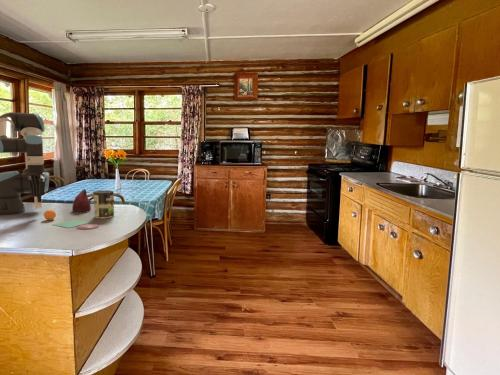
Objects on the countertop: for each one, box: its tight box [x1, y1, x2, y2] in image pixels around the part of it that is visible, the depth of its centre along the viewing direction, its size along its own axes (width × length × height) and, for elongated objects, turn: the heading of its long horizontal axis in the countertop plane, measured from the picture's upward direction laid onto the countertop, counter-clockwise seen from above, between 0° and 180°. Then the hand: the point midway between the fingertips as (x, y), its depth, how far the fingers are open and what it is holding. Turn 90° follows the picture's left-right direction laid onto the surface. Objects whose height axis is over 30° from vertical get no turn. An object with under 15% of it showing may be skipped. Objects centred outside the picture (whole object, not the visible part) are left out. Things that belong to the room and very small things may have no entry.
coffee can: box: [92, 190, 115, 220], centre depth 186 cm, size 10×10×14 cm
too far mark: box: [76, 223, 100, 231], centre depth 164 cm, size 10×10×1 cm
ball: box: [43, 209, 57, 221], centre depth 176 cm, size 6×6×6 cm
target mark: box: [52, 219, 90, 229], centre depth 169 cm, size 12×12×1 cm
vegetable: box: [71, 188, 92, 213], centre depth 200 cm, size 10×10×15 cm
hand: (38, 208), depth 180 cm, fingers closed
